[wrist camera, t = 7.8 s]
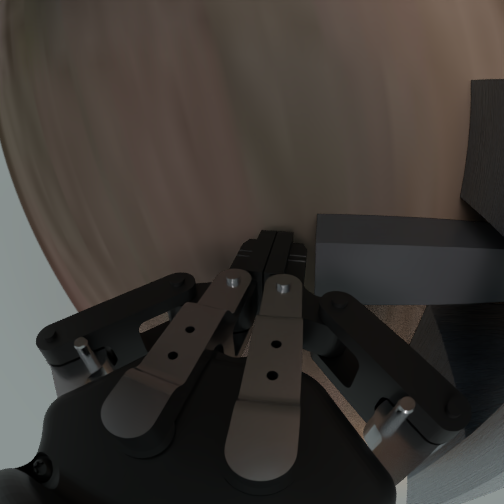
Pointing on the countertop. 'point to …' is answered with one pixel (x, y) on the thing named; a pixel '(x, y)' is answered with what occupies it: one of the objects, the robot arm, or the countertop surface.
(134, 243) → the countertop surface
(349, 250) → the plug
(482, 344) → the housing
